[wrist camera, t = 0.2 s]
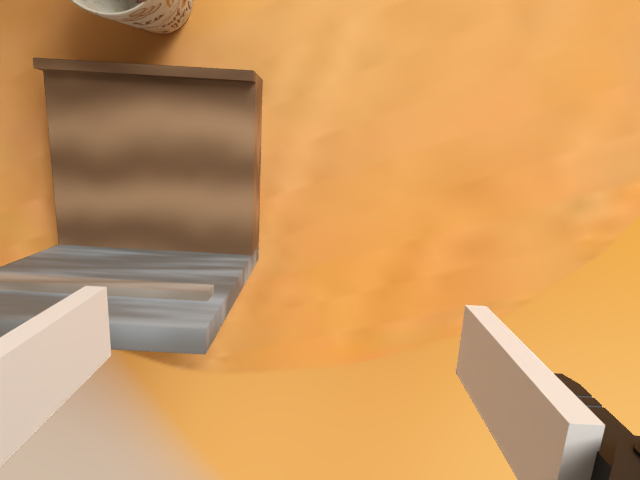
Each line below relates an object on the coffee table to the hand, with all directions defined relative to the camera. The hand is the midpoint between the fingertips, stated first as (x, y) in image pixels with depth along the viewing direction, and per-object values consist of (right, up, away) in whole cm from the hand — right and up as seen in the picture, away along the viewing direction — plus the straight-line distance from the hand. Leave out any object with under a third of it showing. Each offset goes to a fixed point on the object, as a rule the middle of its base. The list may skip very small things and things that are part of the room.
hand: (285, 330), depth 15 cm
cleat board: (-14, +10, +26) cm, 31 cm away
